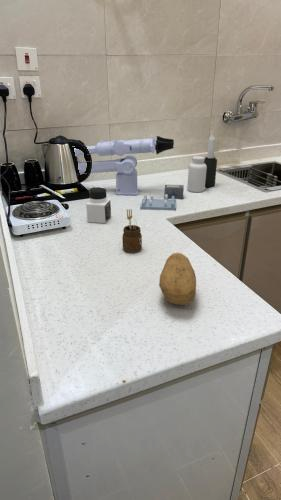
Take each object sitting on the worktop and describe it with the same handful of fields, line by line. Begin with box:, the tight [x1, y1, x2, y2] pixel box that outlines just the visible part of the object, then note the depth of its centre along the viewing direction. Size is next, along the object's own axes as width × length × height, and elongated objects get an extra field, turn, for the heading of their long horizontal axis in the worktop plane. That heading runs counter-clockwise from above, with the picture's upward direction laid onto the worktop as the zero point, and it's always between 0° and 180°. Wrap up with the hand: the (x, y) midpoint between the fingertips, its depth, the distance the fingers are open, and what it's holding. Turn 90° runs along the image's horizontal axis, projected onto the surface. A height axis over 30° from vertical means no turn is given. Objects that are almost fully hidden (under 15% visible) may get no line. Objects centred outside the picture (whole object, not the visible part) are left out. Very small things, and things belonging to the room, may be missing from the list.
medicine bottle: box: [85, 186, 112, 224], centre depth 129 cm, size 7×7×12 cm
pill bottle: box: [186, 155, 207, 193], centre depth 160 cm, size 8×8×15 cm
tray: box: [139, 193, 177, 211], centre depth 144 cm, size 14×10×4 cm
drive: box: [163, 184, 184, 200], centre depth 153 cm, size 8×4×5 cm, turn 84°
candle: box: [204, 130, 218, 189], centre depth 163 cm, size 5×5×25 cm
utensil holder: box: [121, 208, 143, 254], centre depth 108 cm, size 6×6×12 cm
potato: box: [158, 252, 197, 306], centre depth 85 cm, size 9×16×9 cm, turn 173°
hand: (173, 143), depth 149 cm, fingers open, 7 cm apart
